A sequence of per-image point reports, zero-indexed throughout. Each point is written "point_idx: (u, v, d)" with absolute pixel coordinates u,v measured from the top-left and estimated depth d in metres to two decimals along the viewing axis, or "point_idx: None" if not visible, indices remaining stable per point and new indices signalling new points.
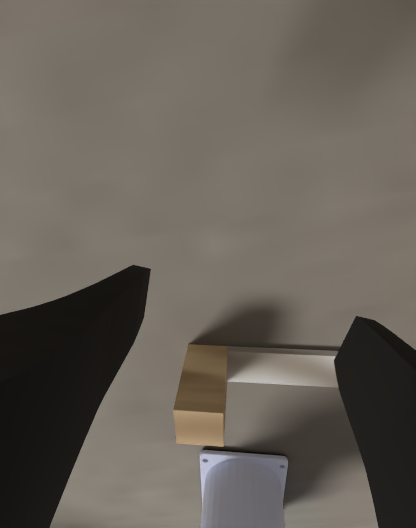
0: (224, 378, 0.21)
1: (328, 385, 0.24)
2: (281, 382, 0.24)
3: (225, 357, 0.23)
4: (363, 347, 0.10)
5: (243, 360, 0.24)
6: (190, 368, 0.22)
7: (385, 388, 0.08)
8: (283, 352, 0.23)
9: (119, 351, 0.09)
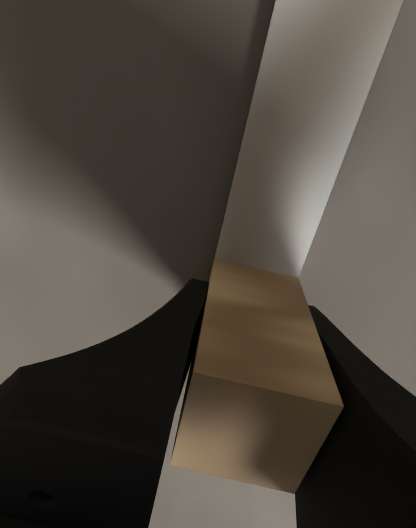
0: (206, 300, 0.09)
1: (396, 4, 0.08)
2: (338, 152, 0.09)
3: (212, 270, 0.10)
4: None
5: (247, 231, 0.10)
6: None
7: None
8: (244, 132, 0.09)
9: (187, 367, 0.09)
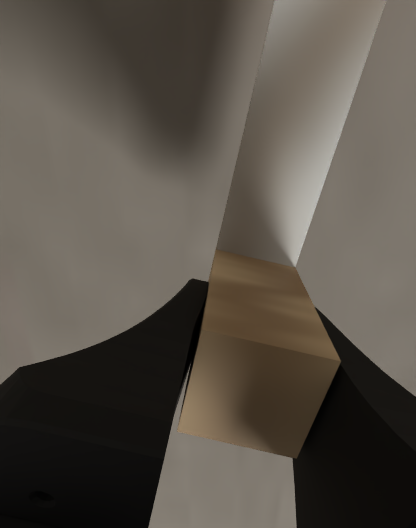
0: (210, 280, 0.09)
1: (375, 18, 0.09)
2: (329, 148, 0.10)
3: (214, 258, 0.11)
4: None
5: (247, 222, 0.11)
6: None
7: None
8: None
9: (187, 367, 0.09)
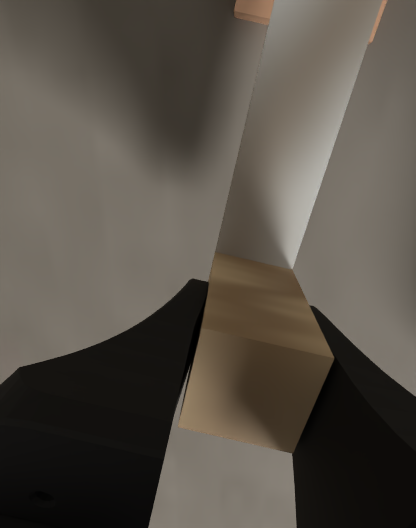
0: (210, 281, 0.09)
1: (367, 31, 0.09)
2: (324, 154, 0.10)
3: (213, 260, 0.11)
4: None
5: (245, 226, 0.12)
6: None
7: None
8: (242, 138, 0.11)
9: (187, 367, 0.09)
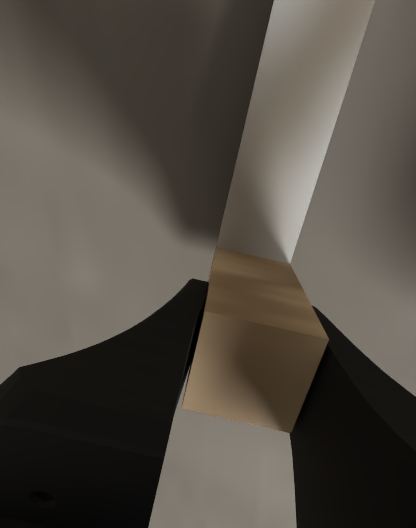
0: (211, 272, 0.10)
1: (358, 38, 0.10)
2: (320, 153, 0.11)
3: (214, 254, 0.12)
4: None
5: (244, 222, 0.12)
6: None
7: None
8: None
9: (187, 367, 0.09)
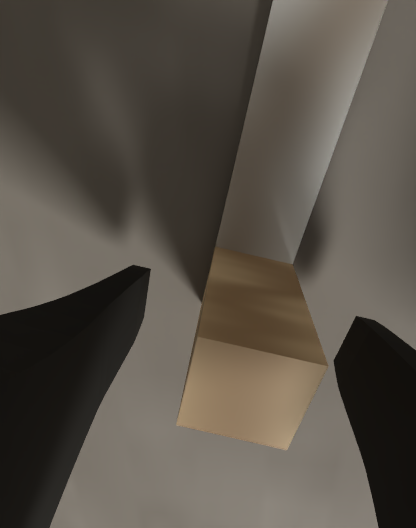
0: (208, 281, 0.09)
1: (377, 14, 0.09)
2: (328, 148, 0.10)
3: (213, 256, 0.11)
4: (363, 347, 0.10)
5: (245, 221, 0.11)
6: (196, 329, 0.11)
7: (385, 388, 0.08)
8: (242, 130, 0.10)
9: (119, 351, 0.09)
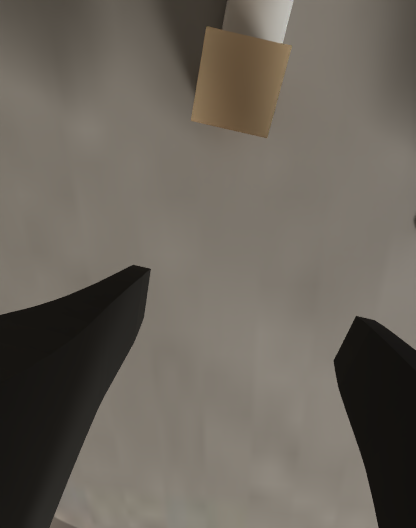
0: None
1: None
2: None
3: None
4: (363, 347, 0.10)
5: (240, 28, 0.15)
6: None
7: (385, 388, 0.08)
8: None
9: (119, 351, 0.09)
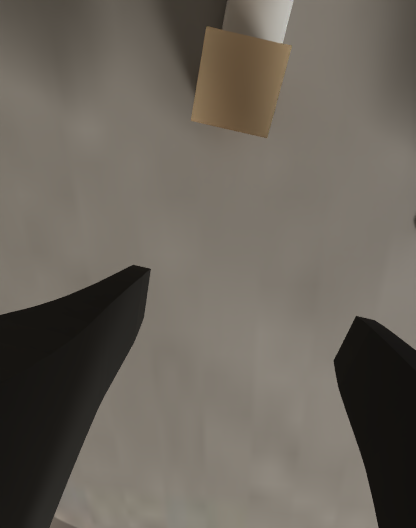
0: None
1: None
2: None
3: None
4: (363, 347, 0.10)
5: (240, 28, 0.15)
6: None
7: (385, 388, 0.08)
8: None
9: (119, 351, 0.09)
